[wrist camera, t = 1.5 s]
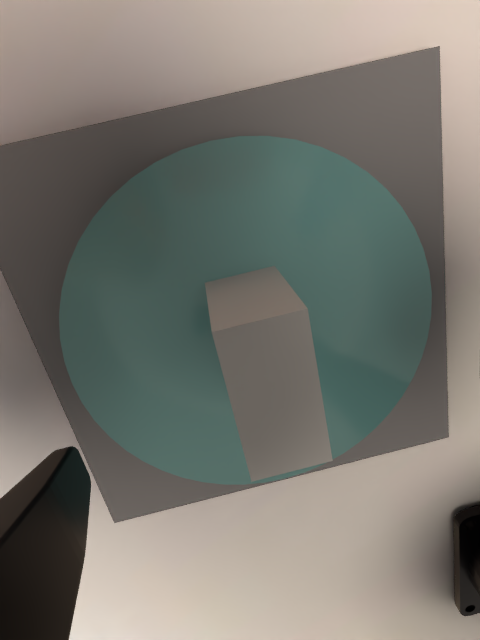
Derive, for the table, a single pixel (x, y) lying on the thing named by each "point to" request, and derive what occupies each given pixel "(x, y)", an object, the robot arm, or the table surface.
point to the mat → (195, 128)
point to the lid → (245, 310)
